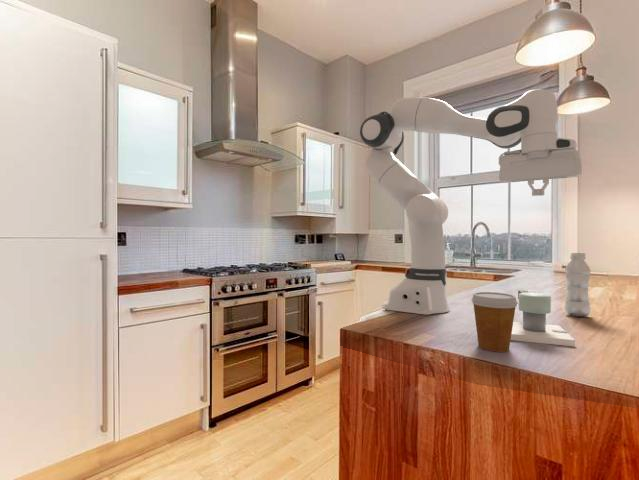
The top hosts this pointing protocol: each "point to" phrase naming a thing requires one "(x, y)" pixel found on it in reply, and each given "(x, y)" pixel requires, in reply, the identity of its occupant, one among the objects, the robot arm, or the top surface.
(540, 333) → the lock base
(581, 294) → the plastic bottle
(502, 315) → the disposable coffee cup
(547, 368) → the top surface
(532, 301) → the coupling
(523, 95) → the robot arm
